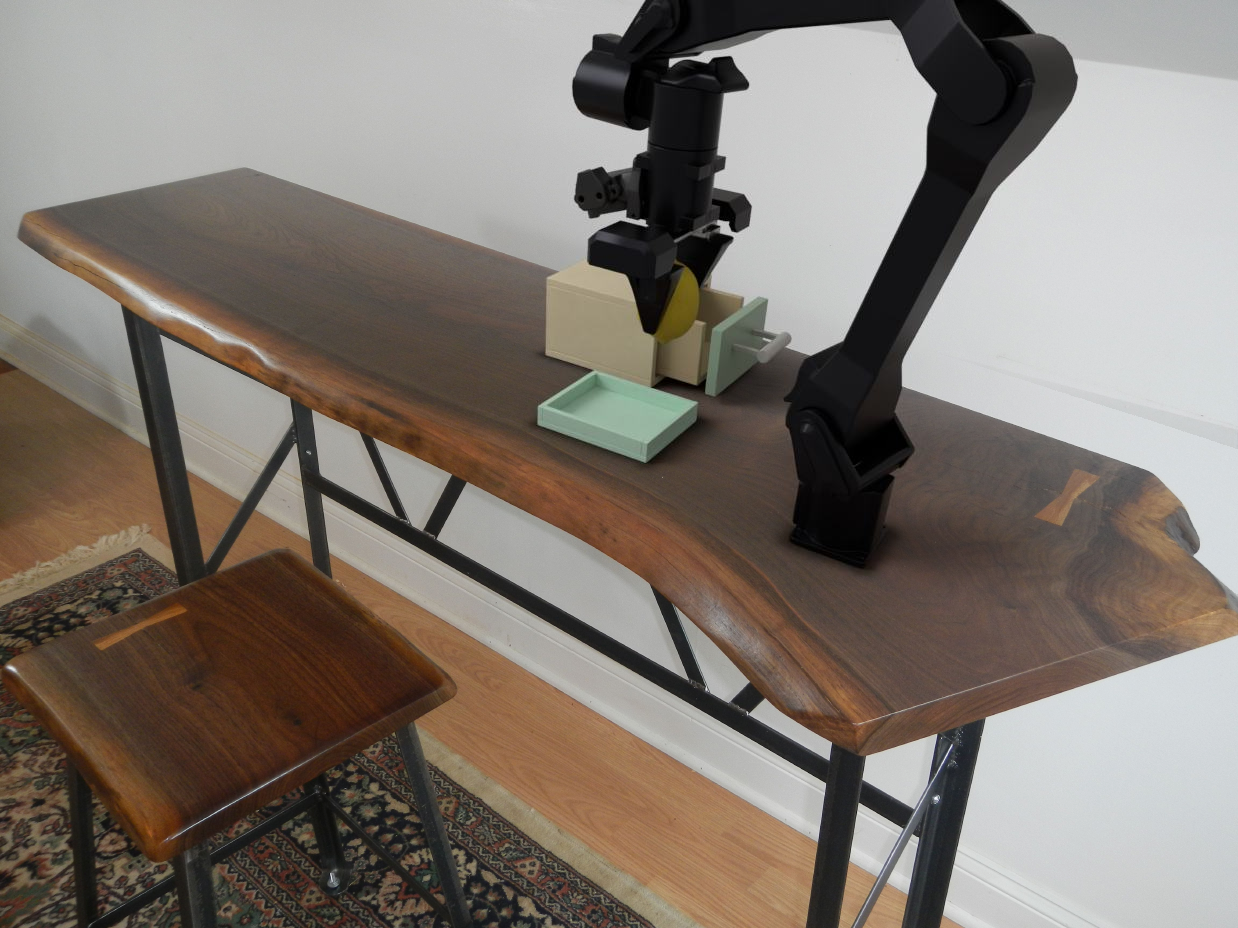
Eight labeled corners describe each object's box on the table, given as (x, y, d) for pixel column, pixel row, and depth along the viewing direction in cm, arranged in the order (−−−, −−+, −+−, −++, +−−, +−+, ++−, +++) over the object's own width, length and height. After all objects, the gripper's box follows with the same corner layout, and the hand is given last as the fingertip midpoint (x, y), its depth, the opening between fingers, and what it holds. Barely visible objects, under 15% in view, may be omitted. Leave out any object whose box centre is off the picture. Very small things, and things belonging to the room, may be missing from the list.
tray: (696, 421, 95) (698, 402, 94) (646, 463, 88) (647, 443, 87) (593, 387, 101) (594, 369, 100) (537, 425, 93) (537, 406, 92)
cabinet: (704, 349, 111) (712, 274, 106) (650, 388, 101) (657, 307, 97) (604, 321, 116) (608, 248, 112) (545, 355, 107) (546, 277, 102)
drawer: (794, 370, 105) (805, 307, 101) (752, 408, 96) (761, 342, 93) (662, 332, 112) (667, 273, 108) (611, 365, 103) (614, 302, 100)
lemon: (695, 358, 84) (705, 271, 79) (632, 354, 84) (639, 267, 79) (692, 333, 88) (702, 249, 84) (633, 329, 88) (639, 245, 84)
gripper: (652, 110, 87) (640, 273, 95) (533, 145, 73) (530, 332, 81) (764, 131, 82) (741, 301, 91) (660, 172, 69) (643, 368, 77)
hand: (665, 323), depth 85 cm, fingers closed on lemon, 5 cm apart
